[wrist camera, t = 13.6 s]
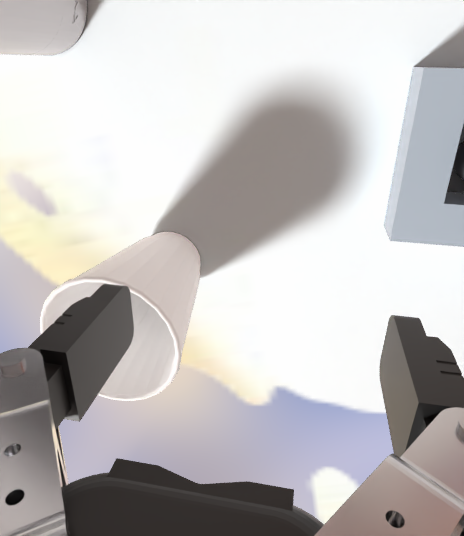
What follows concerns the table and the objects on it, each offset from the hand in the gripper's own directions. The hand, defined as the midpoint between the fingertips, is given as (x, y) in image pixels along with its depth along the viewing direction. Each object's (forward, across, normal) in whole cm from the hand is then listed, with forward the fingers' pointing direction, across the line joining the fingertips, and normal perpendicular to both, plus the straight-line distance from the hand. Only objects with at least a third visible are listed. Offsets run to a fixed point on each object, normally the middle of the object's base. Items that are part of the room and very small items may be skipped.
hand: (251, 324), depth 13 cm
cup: (+30, +13, +13) cm, 35 cm away
